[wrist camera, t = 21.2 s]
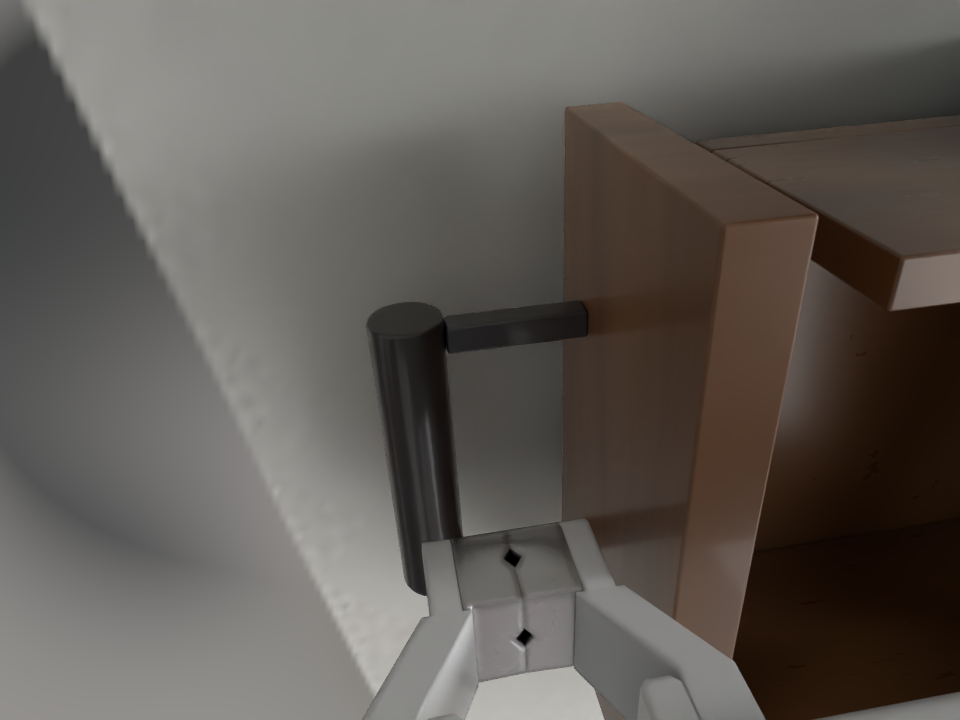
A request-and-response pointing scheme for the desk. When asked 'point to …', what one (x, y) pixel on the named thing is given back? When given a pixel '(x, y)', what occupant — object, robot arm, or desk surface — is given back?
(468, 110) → the desk surface
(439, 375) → the drawer
